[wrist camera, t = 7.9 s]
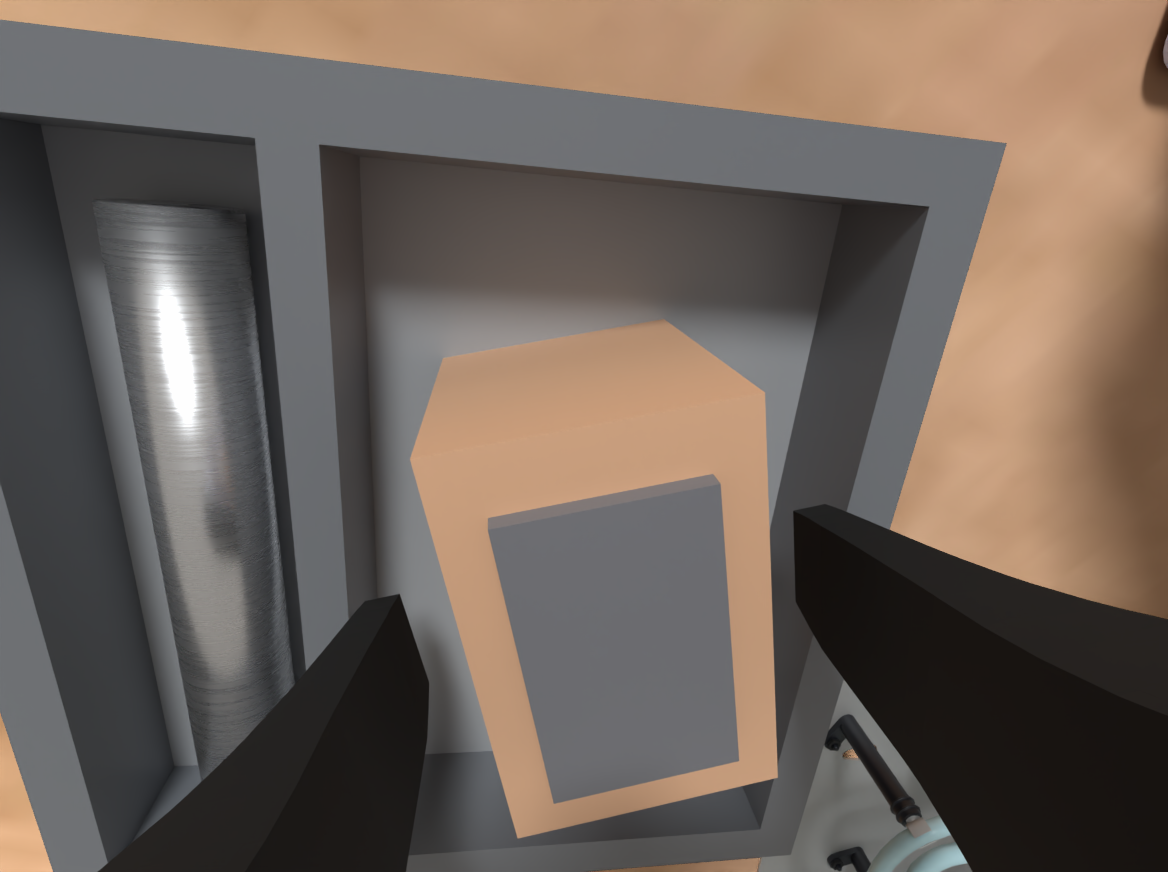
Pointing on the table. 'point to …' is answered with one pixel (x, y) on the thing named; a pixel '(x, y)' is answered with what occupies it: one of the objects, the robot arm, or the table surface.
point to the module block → (607, 567)
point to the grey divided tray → (428, 379)
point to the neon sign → (866, 808)
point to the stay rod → (203, 454)
